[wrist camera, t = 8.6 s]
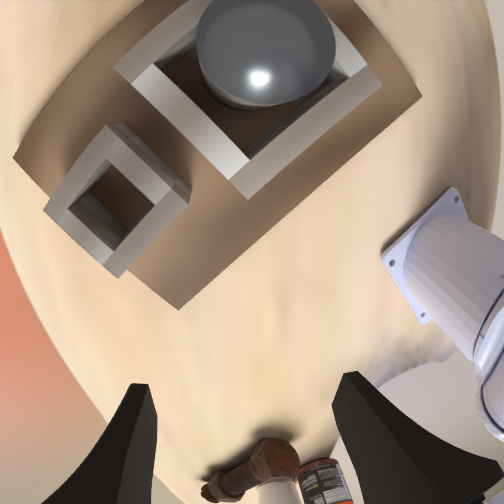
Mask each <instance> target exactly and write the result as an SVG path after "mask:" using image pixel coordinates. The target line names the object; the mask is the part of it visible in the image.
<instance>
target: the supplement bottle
mask: <svg viewBox="0 0 504 504" xmlns="http://www.w3.org/2000/svg"><path fill="white" fill-rule="evenodd" d="M297 478H298V482H299V485H300V489H301V493H302V496H303V500H304V503H305V504H354V503H353V500H352V498H351V495H350V492H349V489H348V486H347V484H346V481H345V479H344V476H343V473H342V470H341V468H340V465H339V463H338V461H337V460H335V459H331V458H327V459H319V460H316V461H313V462H311V463H308V464H306V465H304V466H303V467H301V468H300V469H299V471H298V473H297Z"/></svg>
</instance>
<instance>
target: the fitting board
mask: <svg viewBox="0 0 504 504" xmlns="http://www.w3.org/2000/svg"><path fill="white" fill-rule="evenodd" d="M212 1H213V0H145V1H144V2H143V3H142V4H141V5H139V6H138V7H137V8H136V9H135V10H133V11H132V12H131V13H130V14H129V15H128V16H127V17H125V18H124V19H123V20H122V21H121V22H120V23H119V24H118V25H117V26H116V27H115V28H113V29H112V30H111V31H110V32H109V33H108V34H107V35H106V36H105V37H104V38H103V39H102V40H101V41H100V42H99V43H98V44H97V45H96V46H95V47H94V49H93V50H92V51H91V52H90V53H89V54H88V55H87V56H86V57H85V58H84V59H83V60H82V62H81V63H80V64H79V65H78V66H77V67H76V68H75V70H74V71H73V72H72V73H71V74H70V76H69V77H68V78H67V79H66V80H65V82H64V83H63V84H62V85H61V87H60V88H59V89H58V90H57V92H56V93H55V94H54V96H53V97H52V98H51V100H50V101H49V102H48V104H47V105H46V107H45V108H44V109H43V111H42V112H41V114H40V115H39V116H38V118H37V119H36V121H35V122H34V124H33V125H32V127H31V128H30V130H29V132H28V133H27V135H26V136H25V138H24V139H23V141H22V143H21V144H20V146H19V148H18V149H17V151H16V153H15V155H14V156H13V159H14V160H15V161H16V162H17V163H18V164H19V166H20V167H21V168H22V169H23V170H24V171H25V172H26V173H27V174H28V175H29V176H30V178H31V179H32V180H33V181H34V182H35V183H36V184H37V185H38V186H39V187H40V188H41V189H42V190H43V191H44V192H45V193H46V194H47V195H48V196H49V197H50V200H49V201H48V203H47V204H46V206H45V208H44V209H43V211H44V212H45V213H46V214H47V215H48V216H49V217H50V218H51V219H52V220H53V221H54V222H55V223H56V224H57V225H58V226H60V227H61V228H62V229H63V230H64V231H65V232H66V233H67V234H68V235H69V236H70V237H71V238H72V239H73V240H74V241H75V242H76V243H78V244H79V245H80V246H81V247H82V248H83V249H84V250H85V251H86V252H87V253H89V254H90V255H91V256H92V257H93V258H94V259H95V260H96V261H98V262H99V263H100V264H101V265H102V266H103V267H104V268H106V269H107V270H108V271H109V272H110V273H111V274H113V275H114V276H115V277H116V278H117V279H118V278H119V277H120V276H121V275H122V274H123V273H124V272H125V271H126V269H128V270H129V271H130V272H131V273H132V274H133V275H135V276H136V277H137V278H138V279H139V280H141V281H142V282H143V283H144V284H146V285H147V286H148V287H149V288H150V289H152V290H153V291H154V292H155V293H157V294H158V295H159V296H160V297H162V298H163V299H164V300H165V301H167V302H168V303H169V304H171V305H172V306H173V307H174V308H176V309H177V310H179V309H181V308H182V307H183V306H184V305H185V304H186V303H187V302H188V301H190V300H191V299H192V298H193V297H194V296H195V295H196V294H197V293H199V292H200V291H201V290H202V289H203V288H204V287H205V286H206V285H208V284H209V283H210V282H211V281H212V280H213V279H214V278H216V277H217V276H218V275H219V274H220V273H221V272H222V271H223V270H225V269H226V268H227V267H228V266H229V265H230V264H231V263H232V262H234V261H235V260H236V259H237V258H238V257H239V256H240V255H242V254H243V253H244V252H245V251H246V250H247V249H248V248H249V247H251V246H252V245H253V244H254V243H255V242H256V241H257V240H259V239H260V238H261V237H262V236H263V235H264V234H265V233H266V232H268V231H269V230H270V229H271V228H272V227H273V226H274V225H276V224H277V223H278V222H279V221H280V220H281V219H282V218H284V217H285V216H286V215H287V214H288V213H289V212H290V211H291V210H293V209H294V208H295V207H296V206H297V205H298V204H299V203H301V202H302V201H303V200H304V199H305V198H306V197H307V196H309V195H310V194H311V193H312V192H313V191H314V190H315V189H317V188H318V187H319V186H320V185H321V184H322V183H323V182H325V181H326V180H327V179H328V178H329V177H330V176H331V175H333V174H334V173H335V172H336V171H337V170H338V169H339V168H341V167H342V166H343V165H344V164H345V163H346V162H347V161H349V160H350V159H351V158H352V157H353V156H354V155H355V154H357V153H358V152H359V151H360V150H361V149H362V148H364V147H365V146H366V145H367V144H368V143H369V142H370V141H372V140H373V139H374V138H375V137H376V136H377V135H378V134H380V133H381V132H382V131H383V130H384V129H385V128H387V127H388V126H389V125H390V124H391V123H392V122H393V121H395V120H396V119H397V118H398V117H399V116H400V115H402V114H403V113H404V112H405V111H406V110H407V109H408V108H410V107H411V106H412V105H413V104H414V103H415V102H417V101H418V100H419V99H420V98H421V97H422V95H421V93H420V91H419V90H418V88H417V86H416V85H415V83H414V81H413V80H412V78H411V77H410V75H409V73H408V72H407V70H406V69H405V67H404V66H403V64H402V63H401V61H400V60H399V58H398V57H397V55H396V54H395V53H394V51H393V50H392V48H391V47H390V46H389V44H388V43H387V41H386V40H385V39H384V37H383V36H382V35H381V34H380V32H379V31H378V30H377V28H376V27H375V26H374V25H373V23H372V22H371V21H370V20H369V18H368V17H367V16H366V15H365V14H364V12H363V11H362V10H361V9H360V8H359V7H358V5H357V4H356V3H355V2H354V1H353V0H312V1H313V2H315V3H316V4H317V5H318V6H319V7H320V8H321V10H322V11H323V12H324V14H325V15H326V16H327V18H328V20H329V22H330V24H331V26H332V29H333V31H334V35H335V41H336V54H335V59H334V63H333V66H332V68H331V70H330V72H329V74H328V76H327V77H326V78H325V80H324V81H323V82H322V83H321V84H320V85H319V86H318V87H317V88H316V89H315V90H313V91H312V92H311V93H309V94H307V95H305V96H303V97H301V98H299V99H296V100H293V101H289V102H285V103H281V104H277V105H274V106H270V107H266V108H262V109H259V110H254V111H239V110H234V109H231V108H228V107H226V106H224V105H222V104H220V103H219V102H218V101H216V100H215V99H214V98H213V97H212V96H211V95H210V93H209V92H208V91H207V89H206V87H205V85H204V82H203V79H202V74H201V69H200V64H199V59H198V53H197V48H196V30H197V26H198V23H199V20H200V18H201V16H202V14H203V12H204V11H205V9H206V8H207V7H208V6H209V4H210V3H211V2H212Z"/></svg>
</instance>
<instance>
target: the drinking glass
mask: <svg viewBox="0 0 504 504" xmlns="http://www.w3.org/2000/svg"><path fill="white" fill-rule="evenodd" d="M257 494H258V502H259V504H302V503H301V500H300V497H299V494H298V491H297V488H296V484H295V482H294V481H289V482H270V483H266V484H264V485H261V486H260V487H258V489H257Z"/></svg>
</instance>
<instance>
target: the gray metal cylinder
mask: <svg viewBox="0 0 504 504" xmlns="http://www.w3.org/2000/svg"><path fill="white" fill-rule="evenodd" d="M196 48H197V53H198V59H199V64H200V69H201V74H202V79H203V82H204V85H205V87H206V89H207V91H208V92H209V93H210V95H211V96H212V97H213V98H214V99H215V100H216V101H218V102H219V103H220V104H222V105H224V106H226V107H228V108H231V109H234V110H239V111H254V110H259V109H262V108H266V107H270V106H274V105H277V104H281V103H285V102H289V101H293V100H296V99H299V98H301V97H303V96H305V95H307V94H309V93H311V92H312V91H313V90H315V89H316V88H317V87H318V86H319V85H320V84H321V83H322V82H323V81H324V80H325V78H326V77H327V76H328V74H329V72H330V70H331V68H332V66H333V63H334V59H335V54H336V41H335V35H334V31H333V29H332V26H331V24H330V22H329V20H328V18H327V16H326V15H325V14H324V12H323V11H322V10H321V8H320V7H319V6H318V5H317V4H316V3H315V2H313V1H312V0H213V1H212V2H211V3H210V4H209V6H208V7H207V8H206V9H205V11H204V12H203V14H202V16H201V18H200V20H199V23H198V26H197V30H196Z"/></svg>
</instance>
